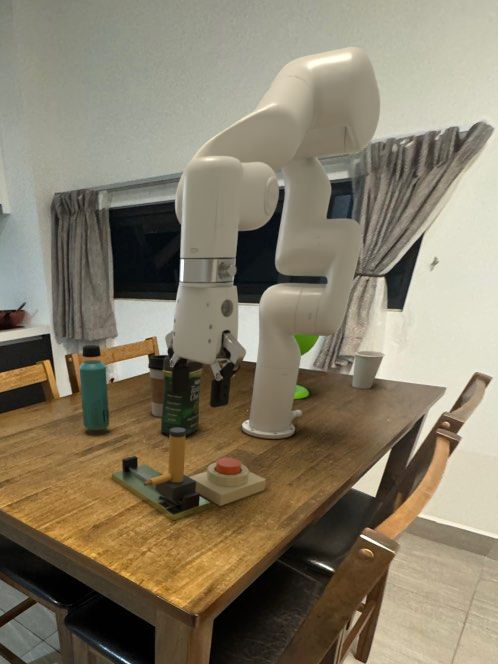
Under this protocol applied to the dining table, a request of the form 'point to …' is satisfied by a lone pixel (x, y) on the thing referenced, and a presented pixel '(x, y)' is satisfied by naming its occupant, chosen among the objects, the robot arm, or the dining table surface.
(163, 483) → the nozzle
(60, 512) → the dining table surface
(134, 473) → the rail
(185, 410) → the coffee jar
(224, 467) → the button
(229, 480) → the button box
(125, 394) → the dining table surface
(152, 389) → the coffee cup
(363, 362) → the dixie cup
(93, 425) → the beverage bottle
